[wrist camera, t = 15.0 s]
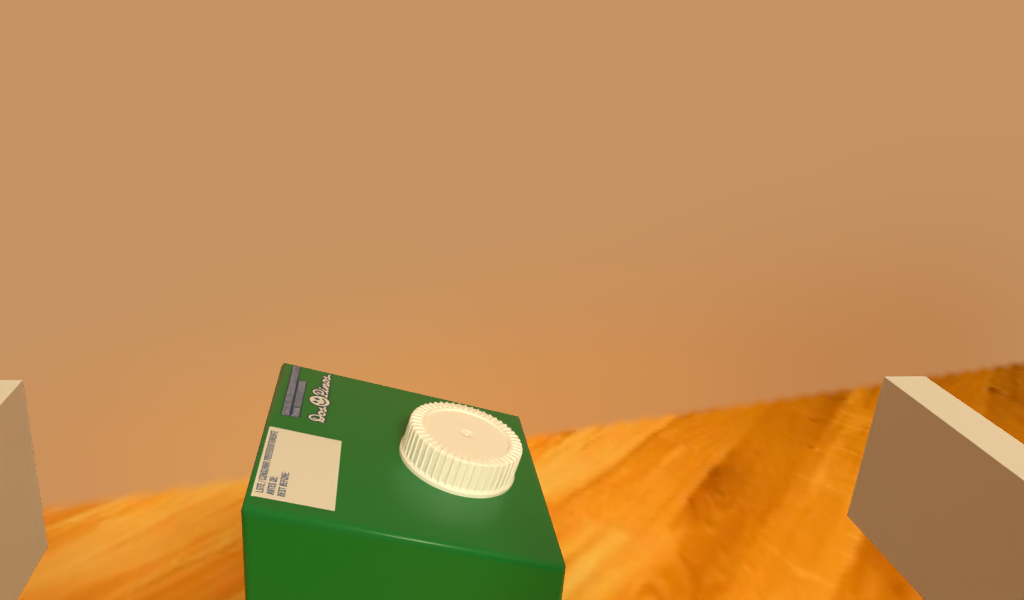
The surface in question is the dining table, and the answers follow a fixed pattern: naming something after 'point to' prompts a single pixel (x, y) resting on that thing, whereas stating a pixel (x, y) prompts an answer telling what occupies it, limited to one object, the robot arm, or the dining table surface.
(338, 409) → the milk carton
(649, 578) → the dining table surface
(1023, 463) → the robot arm
